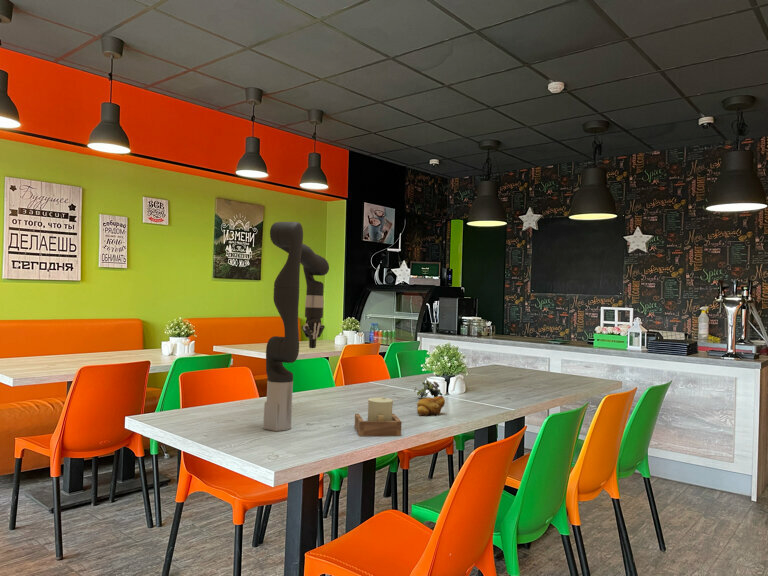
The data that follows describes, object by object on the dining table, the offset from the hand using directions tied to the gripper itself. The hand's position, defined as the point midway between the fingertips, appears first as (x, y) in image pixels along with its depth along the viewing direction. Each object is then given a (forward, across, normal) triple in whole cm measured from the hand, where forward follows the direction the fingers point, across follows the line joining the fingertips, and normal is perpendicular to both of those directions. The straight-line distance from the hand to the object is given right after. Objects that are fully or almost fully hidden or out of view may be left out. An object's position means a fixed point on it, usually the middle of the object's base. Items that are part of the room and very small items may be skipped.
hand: (312, 348), depth 230 cm
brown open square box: (+27, -8, -38) cm, 47 cm away
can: (+27, -7, -39) cm, 48 cm away
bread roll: (+27, +32, -39) cm, 57 cm away
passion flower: (+27, +62, -24) cm, 71 cm away
